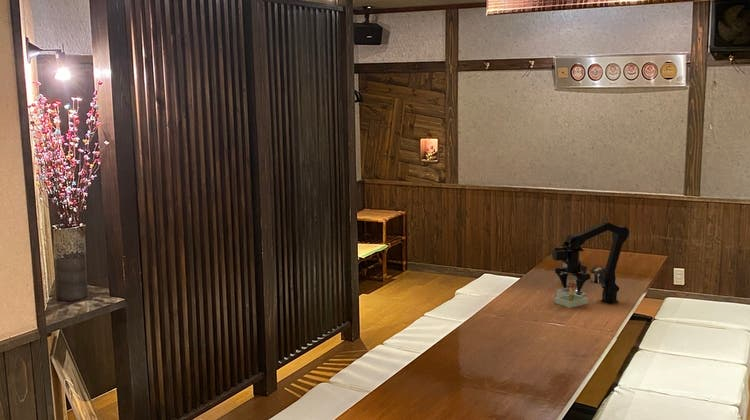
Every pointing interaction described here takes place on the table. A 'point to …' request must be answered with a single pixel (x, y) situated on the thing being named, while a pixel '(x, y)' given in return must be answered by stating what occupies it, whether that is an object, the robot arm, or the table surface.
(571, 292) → the lock pin
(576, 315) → the table surface
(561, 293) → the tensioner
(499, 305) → the table surface
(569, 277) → the coffee cup
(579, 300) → the tray
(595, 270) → the architectural model
